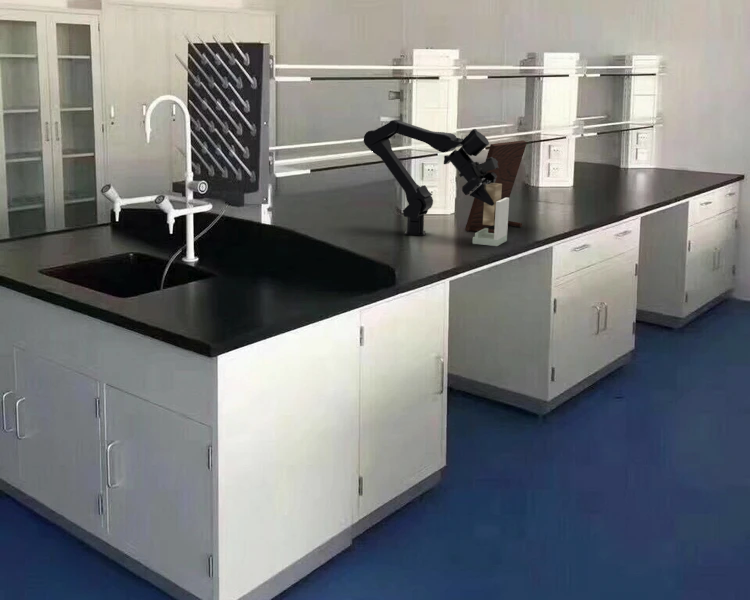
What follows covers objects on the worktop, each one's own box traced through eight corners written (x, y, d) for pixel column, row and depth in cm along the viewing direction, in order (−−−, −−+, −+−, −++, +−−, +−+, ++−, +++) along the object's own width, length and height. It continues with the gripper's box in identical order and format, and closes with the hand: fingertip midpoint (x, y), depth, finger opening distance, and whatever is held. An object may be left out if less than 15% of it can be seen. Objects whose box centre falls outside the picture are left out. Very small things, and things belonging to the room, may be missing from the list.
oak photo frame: (482, 224, 287) (484, 185, 283) (488, 221, 292) (491, 182, 289) (493, 225, 285) (495, 186, 282) (499, 222, 291) (502, 183, 288)
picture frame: (497, 223, 324) (502, 138, 316) (523, 226, 318) (528, 140, 310) (464, 230, 308) (468, 142, 300) (491, 235, 302) (496, 144, 294)
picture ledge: (472, 243, 288) (474, 199, 284) (482, 238, 297) (484, 195, 293) (497, 246, 284) (499, 202, 281) (506, 240, 293) (509, 197, 289)
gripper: (473, 151, 276) (506, 190, 275) (492, 146, 292) (523, 183, 291) (448, 175, 281) (480, 213, 280) (468, 169, 298) (498, 205, 296)
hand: (496, 203), depth 287 cm, fingers closed on oak photo frame, 6 cm apart
